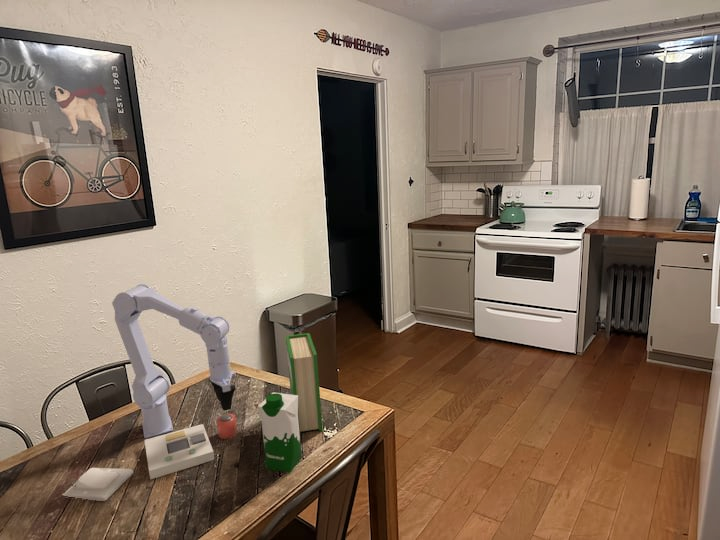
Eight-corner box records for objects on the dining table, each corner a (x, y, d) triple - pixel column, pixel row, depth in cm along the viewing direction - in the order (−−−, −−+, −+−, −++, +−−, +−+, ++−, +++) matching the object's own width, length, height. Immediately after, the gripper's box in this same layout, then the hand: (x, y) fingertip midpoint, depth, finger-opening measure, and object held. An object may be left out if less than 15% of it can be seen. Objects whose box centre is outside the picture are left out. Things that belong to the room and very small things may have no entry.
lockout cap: (217, 432, 145) (215, 416, 143) (234, 427, 147) (232, 411, 146) (220, 440, 140) (218, 424, 139) (238, 435, 142) (237, 419, 141)
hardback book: (322, 431, 142) (316, 354, 137) (297, 435, 141) (290, 358, 135) (314, 402, 159) (309, 333, 153) (291, 406, 158) (285, 335, 152)
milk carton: (261, 470, 126) (253, 399, 121) (277, 450, 134) (271, 383, 130) (291, 476, 123) (285, 403, 118) (307, 455, 131) (301, 386, 127)
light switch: (88, 459, 129) (131, 460, 127) (92, 473, 130) (134, 474, 128) (56, 486, 119) (102, 488, 116) (60, 501, 120) (106, 503, 117)
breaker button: (168, 451, 136) (167, 444, 135) (187, 446, 138) (186, 438, 138) (170, 461, 132) (169, 453, 131) (190, 455, 134) (188, 447, 133)
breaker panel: (145, 447, 138) (144, 438, 138) (203, 431, 145) (202, 422, 145) (150, 479, 124) (148, 468, 124) (214, 459, 131) (213, 449, 131)
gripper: (239, 366, 134) (244, 411, 137) (227, 349, 146) (232, 390, 149) (212, 372, 130) (218, 418, 134) (203, 354, 143) (208, 396, 146)
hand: (224, 404), depth 141 cm, fingers open, 6 cm apart
